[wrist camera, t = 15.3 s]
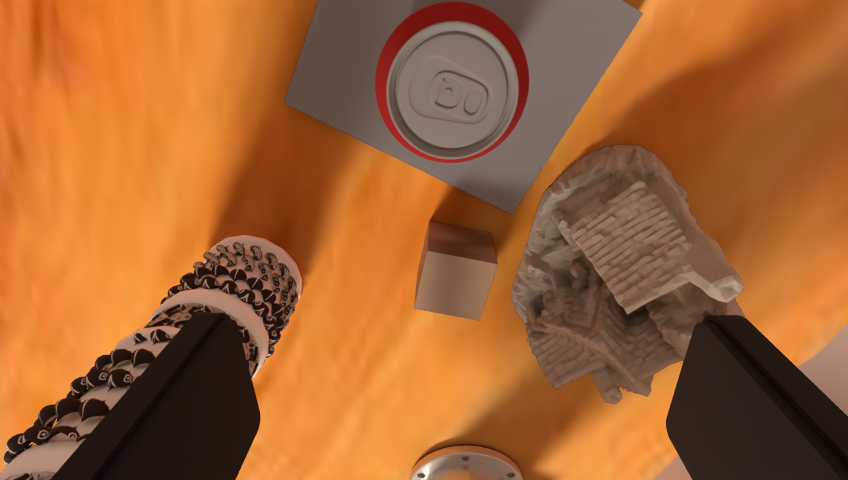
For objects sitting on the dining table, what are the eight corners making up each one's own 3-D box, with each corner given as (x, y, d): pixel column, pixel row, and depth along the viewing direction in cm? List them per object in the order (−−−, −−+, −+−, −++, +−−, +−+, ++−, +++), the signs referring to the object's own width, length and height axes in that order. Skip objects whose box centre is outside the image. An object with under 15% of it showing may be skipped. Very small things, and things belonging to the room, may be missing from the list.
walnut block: (490, 232, 35) (497, 264, 31) (475, 283, 37) (479, 320, 33) (429, 220, 35) (427, 250, 30) (417, 273, 37) (414, 308, 33)
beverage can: (415, -13, 26) (395, -29, 16) (518, 26, 27) (567, 36, 17) (384, 98, 29) (350, 146, 19) (478, 130, 30) (497, 195, 20)
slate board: (636, 13, 28) (643, 13, 27) (509, 209, 34) (511, 214, 33) (373, -150, 24) (370, -156, 23) (288, 100, 31) (283, 102, 30)
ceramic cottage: (663, 117, 30) (811, 222, 17) (714, 288, 37) (848, 453, 24) (461, 210, 35) (460, 346, 22) (539, 346, 42) (574, 509, 29)
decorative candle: (272, 214, 35) (-27, 569, 13) (326, 304, 39) (169, 697, 17) (177, 250, 37) (-226, 613, 15) (238, 332, 41) (-8, 719, 18)
